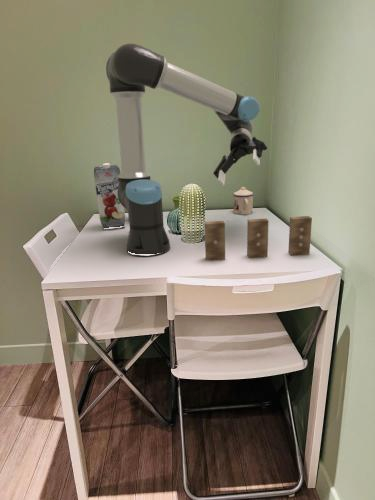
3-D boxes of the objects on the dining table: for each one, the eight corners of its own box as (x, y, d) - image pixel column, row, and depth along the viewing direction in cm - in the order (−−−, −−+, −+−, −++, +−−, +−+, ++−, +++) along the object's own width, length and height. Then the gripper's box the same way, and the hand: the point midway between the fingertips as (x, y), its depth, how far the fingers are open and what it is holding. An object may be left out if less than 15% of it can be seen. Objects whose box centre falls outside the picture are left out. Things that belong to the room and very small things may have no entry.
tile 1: (206, 260, 117) (205, 224, 113) (205, 257, 119) (204, 222, 115) (225, 259, 117) (224, 223, 113) (224, 256, 119) (223, 220, 115)
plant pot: (196, 216, 170) (196, 197, 167) (178, 219, 166) (177, 200, 163) (186, 212, 178) (186, 194, 175) (169, 215, 173) (168, 197, 170)
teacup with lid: (231, 210, 176) (231, 186, 172) (250, 209, 177) (250, 185, 173) (236, 217, 165) (236, 191, 161) (256, 215, 166) (257, 189, 162)
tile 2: (248, 258, 117) (249, 221, 113) (247, 255, 120) (247, 219, 116) (267, 257, 117) (268, 220, 113) (265, 254, 120) (266, 218, 116)
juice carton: (100, 226, 161) (92, 163, 152) (124, 223, 164) (117, 161, 154) (101, 231, 153) (92, 165, 144) (126, 228, 155) (120, 163, 146)
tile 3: (290, 255, 118) (292, 219, 113) (288, 252, 120) (290, 217, 116) (309, 254, 118) (312, 218, 114) (306, 251, 120) (309, 216, 116)
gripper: (276, 132, 131) (278, 161, 115) (219, 167, 143) (214, 198, 128) (265, 115, 127) (265, 143, 112) (207, 153, 140) (201, 183, 124)
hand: (238, 173), depth 120 cm, fingers open, 13 cm apart
